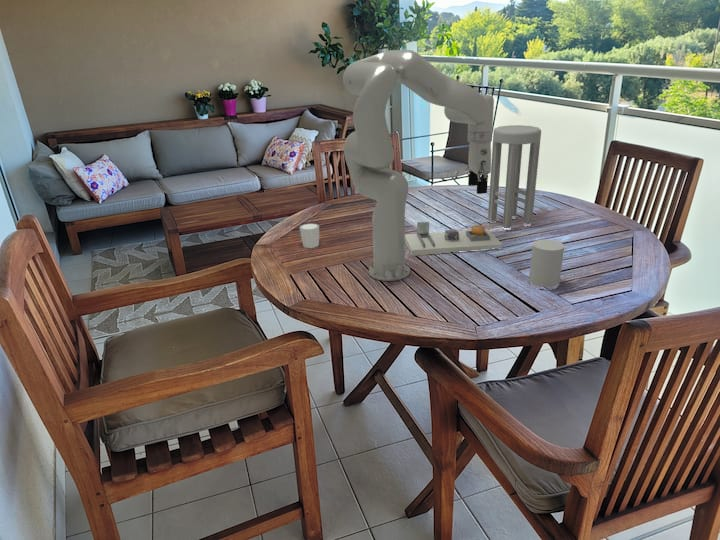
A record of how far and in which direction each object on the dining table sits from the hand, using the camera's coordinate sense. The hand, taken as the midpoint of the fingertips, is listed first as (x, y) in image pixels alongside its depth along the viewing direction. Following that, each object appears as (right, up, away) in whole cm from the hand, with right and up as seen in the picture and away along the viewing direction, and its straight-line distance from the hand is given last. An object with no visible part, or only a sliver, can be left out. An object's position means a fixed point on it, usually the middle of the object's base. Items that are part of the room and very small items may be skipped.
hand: (477, 189), depth 170 cm
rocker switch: (-7, -15, +5) cm, 17 cm away
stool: (+17, -10, +23) cm, 31 cm away
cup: (+14, -31, -24) cm, 41 cm away
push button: (+2, -14, +6) cm, 15 cm away
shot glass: (-56, -18, +12) cm, 60 cm away
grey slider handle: (-17, -15, +9) cm, 24 cm away
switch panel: (-7, -18, +7) cm, 21 cm away
